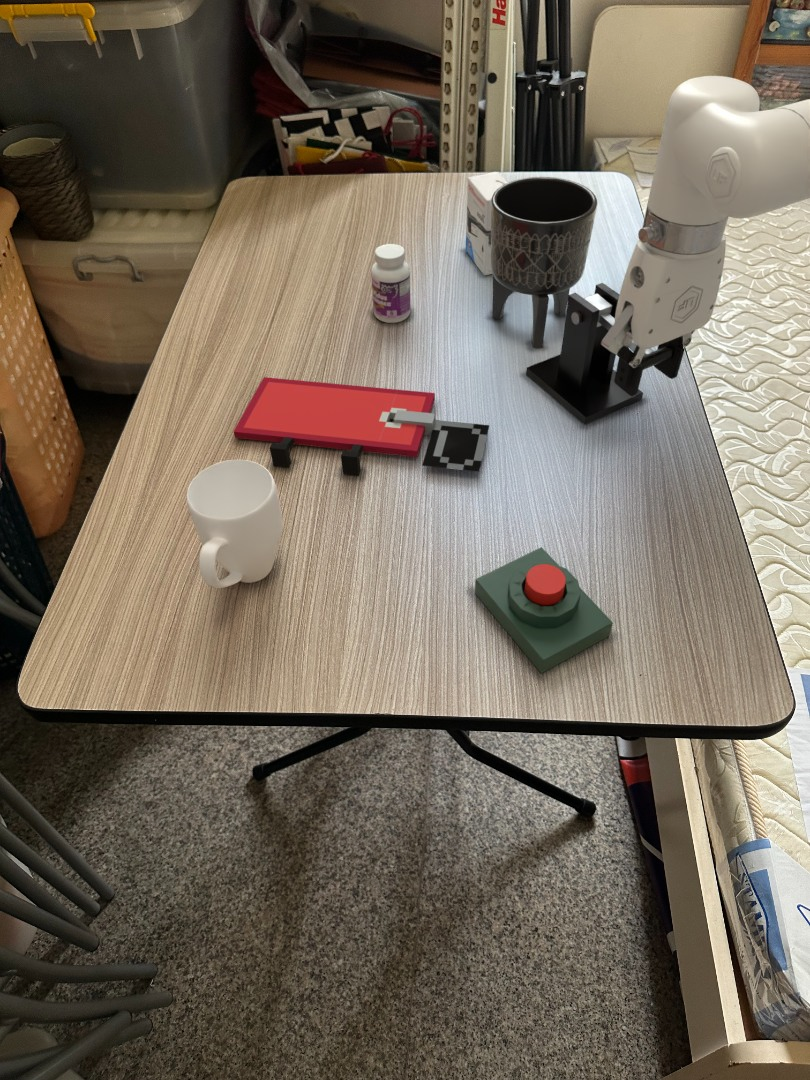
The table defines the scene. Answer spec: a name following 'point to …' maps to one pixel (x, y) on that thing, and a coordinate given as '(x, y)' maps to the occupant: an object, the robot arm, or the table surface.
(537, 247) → the planter
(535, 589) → the button
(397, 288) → the pill bottle
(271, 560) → the mug
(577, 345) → the bracket
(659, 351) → the tap lever
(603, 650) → the table surface
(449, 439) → the red board with handle
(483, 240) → the ink box
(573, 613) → the button box
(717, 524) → the table surface
